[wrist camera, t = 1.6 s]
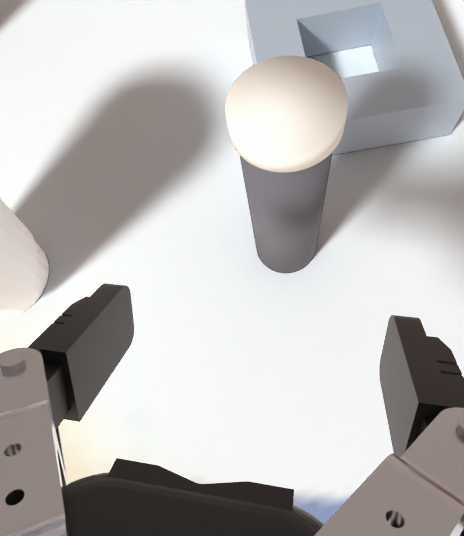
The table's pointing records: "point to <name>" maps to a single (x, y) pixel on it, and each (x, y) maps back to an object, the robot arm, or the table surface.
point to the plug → (286, 151)
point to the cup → (19, 266)
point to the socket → (387, 57)
